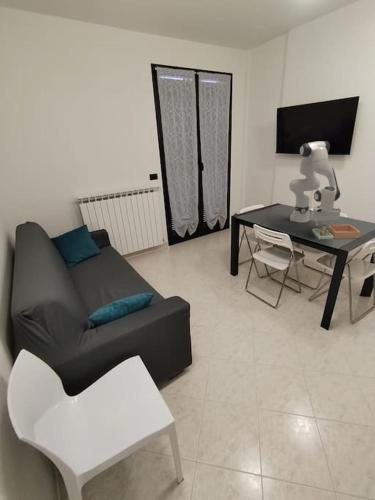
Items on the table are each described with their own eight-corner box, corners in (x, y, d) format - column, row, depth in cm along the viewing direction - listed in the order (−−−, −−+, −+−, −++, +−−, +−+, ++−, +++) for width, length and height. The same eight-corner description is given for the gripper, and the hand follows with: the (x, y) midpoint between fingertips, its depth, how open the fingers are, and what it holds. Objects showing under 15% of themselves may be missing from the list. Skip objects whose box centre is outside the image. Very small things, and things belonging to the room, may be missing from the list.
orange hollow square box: (326, 231, 202) (327, 225, 199) (349, 231, 198) (350, 224, 196) (334, 239, 187) (335, 232, 184) (358, 239, 183) (360, 232, 181)
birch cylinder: (319, 233, 197) (320, 224, 194) (324, 233, 196) (325, 224, 193) (320, 235, 193) (322, 226, 190) (326, 235, 193) (327, 226, 189)
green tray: (312, 232, 204) (312, 228, 203) (325, 231, 202) (325, 228, 201) (318, 240, 188) (319, 236, 187) (333, 240, 186) (333, 236, 185)
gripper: (339, 206, 187) (336, 223, 193) (311, 207, 191) (308, 224, 197) (342, 209, 181) (339, 226, 187) (313, 210, 185) (311, 227, 191)
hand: (323, 225), depth 192 cm, fingers open, 8 cm apart
